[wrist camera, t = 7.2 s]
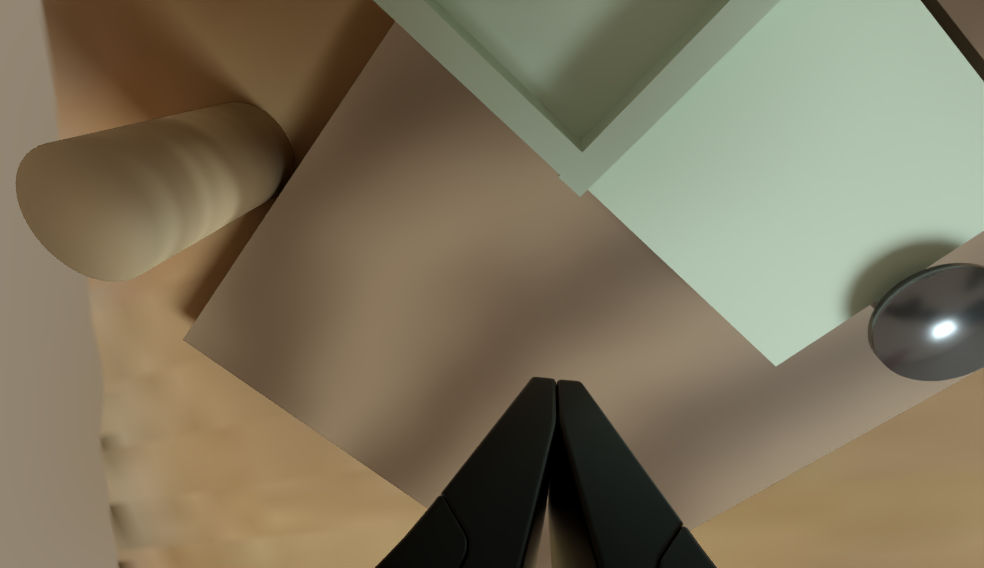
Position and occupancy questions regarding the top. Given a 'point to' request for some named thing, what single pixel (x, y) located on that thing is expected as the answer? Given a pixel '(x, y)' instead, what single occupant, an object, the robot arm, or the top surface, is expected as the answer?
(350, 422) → the board
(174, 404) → the top surface
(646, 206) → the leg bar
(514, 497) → the robot arm
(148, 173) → the oak dowel
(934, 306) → the pivot pin
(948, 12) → the stop block
